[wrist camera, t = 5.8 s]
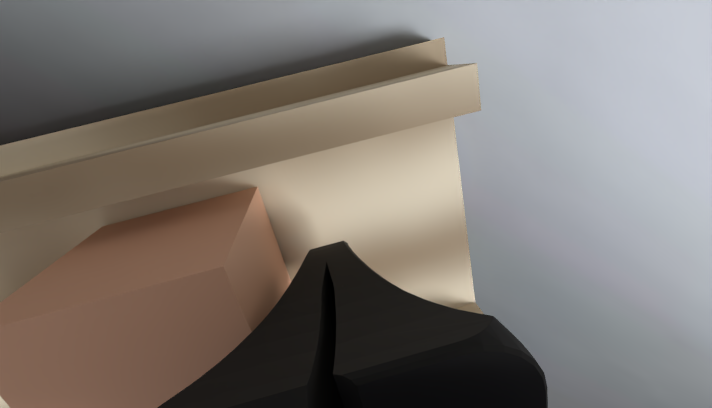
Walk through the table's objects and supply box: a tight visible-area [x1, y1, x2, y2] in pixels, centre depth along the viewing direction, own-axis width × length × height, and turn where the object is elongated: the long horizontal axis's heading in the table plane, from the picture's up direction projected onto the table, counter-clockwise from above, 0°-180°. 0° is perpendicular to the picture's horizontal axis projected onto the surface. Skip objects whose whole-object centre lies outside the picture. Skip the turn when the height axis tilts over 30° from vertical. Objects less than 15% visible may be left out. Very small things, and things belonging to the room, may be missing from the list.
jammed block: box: [0, 187, 291, 408], centre depth 10 cm, size 6×5×5 cm
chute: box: [0, 37, 483, 408], centre depth 11 cm, size 12×24×3 cm, turn 103°
